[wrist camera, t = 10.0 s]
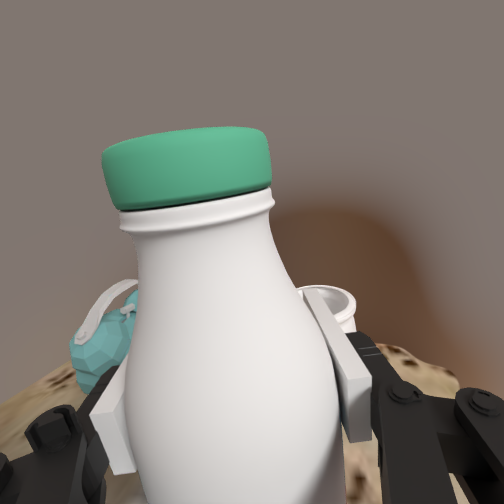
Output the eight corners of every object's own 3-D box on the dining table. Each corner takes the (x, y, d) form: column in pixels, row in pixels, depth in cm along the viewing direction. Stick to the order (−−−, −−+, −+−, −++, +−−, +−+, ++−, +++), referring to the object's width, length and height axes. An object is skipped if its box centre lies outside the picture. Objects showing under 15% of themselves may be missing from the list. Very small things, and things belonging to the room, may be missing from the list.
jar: (330, 354, 48) (326, 278, 43) (373, 397, 38) (374, 305, 34) (276, 375, 45) (266, 296, 40) (309, 427, 35) (301, 330, 31)
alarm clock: (150, 353, 55) (124, 264, 49) (191, 357, 52) (169, 262, 46) (79, 432, 39) (27, 314, 33) (132, 443, 36) (86, 316, 30)
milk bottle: (376, 725, 9) (374, 62, 3) (167, 698, 10) (-113, 154, 4) (333, 478, 17) (309, 133, 11) (213, 476, 18) (132, 161, 12)
